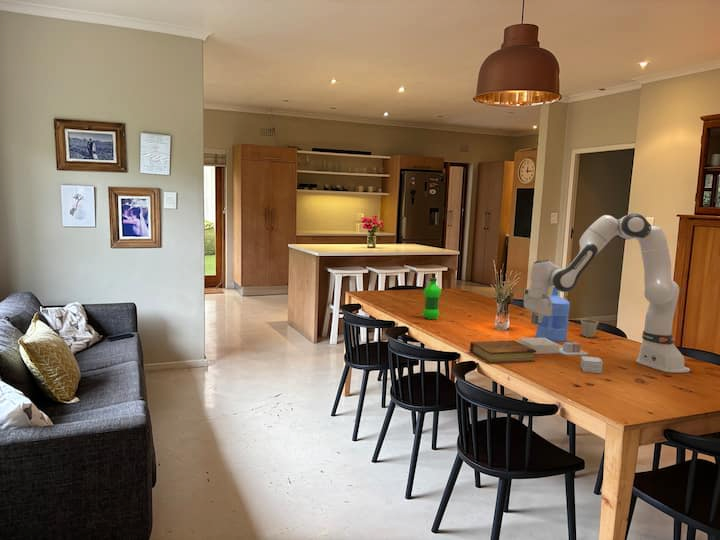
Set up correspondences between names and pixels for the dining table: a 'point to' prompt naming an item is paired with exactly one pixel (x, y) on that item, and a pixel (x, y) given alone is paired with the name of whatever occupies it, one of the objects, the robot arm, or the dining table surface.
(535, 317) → the pebble charcoal
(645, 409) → the dining table surface
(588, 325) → the flower pot
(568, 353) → the tray
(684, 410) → the dining table surface
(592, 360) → the small box
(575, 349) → the pebble brown
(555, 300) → the water jug
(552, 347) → the flat white box
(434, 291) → the plastic bottle
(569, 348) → the pebble slate
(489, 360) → the diary
